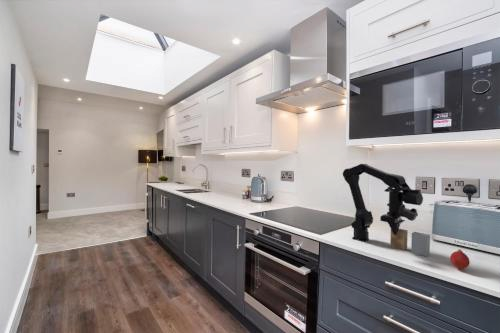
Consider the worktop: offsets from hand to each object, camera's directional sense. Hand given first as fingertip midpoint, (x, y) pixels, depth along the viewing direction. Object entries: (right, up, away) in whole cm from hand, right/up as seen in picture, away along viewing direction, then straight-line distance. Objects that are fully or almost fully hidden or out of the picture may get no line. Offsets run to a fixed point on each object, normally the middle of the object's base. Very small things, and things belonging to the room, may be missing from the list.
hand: (395, 234), depth 114 cm
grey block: (+9, -8, -4) cm, 13 cm away
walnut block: (+4, -7, +3) cm, 9 cm away
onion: (+13, -8, -20) cm, 25 cm away
